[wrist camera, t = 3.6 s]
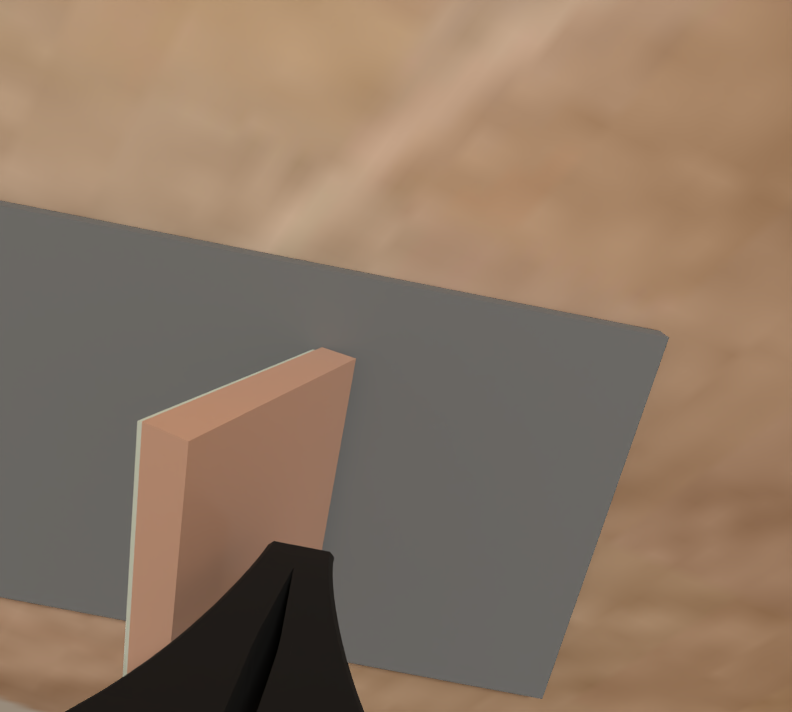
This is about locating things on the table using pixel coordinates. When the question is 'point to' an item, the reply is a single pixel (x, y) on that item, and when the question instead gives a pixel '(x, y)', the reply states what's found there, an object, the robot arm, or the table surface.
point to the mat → (361, 441)
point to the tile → (229, 489)
